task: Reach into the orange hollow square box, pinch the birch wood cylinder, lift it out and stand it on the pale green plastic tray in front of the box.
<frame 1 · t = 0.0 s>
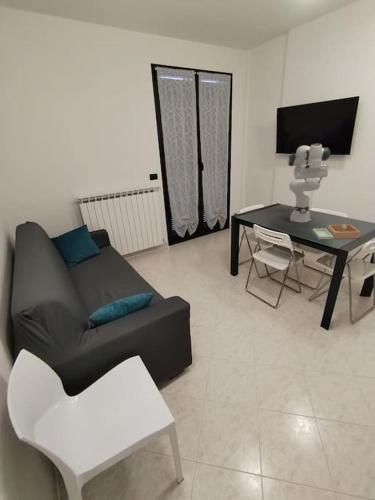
hand: (312, 183, 197), 39 cm above the table, tool pointing down, fingers open, 8 cm apart
green tray: (322, 235, 195), on the table
orange hollow square box: (342, 235, 192), on the table
birch cylinder: (342, 234, 192), point 1 cm above the table, touching orange hollow square box
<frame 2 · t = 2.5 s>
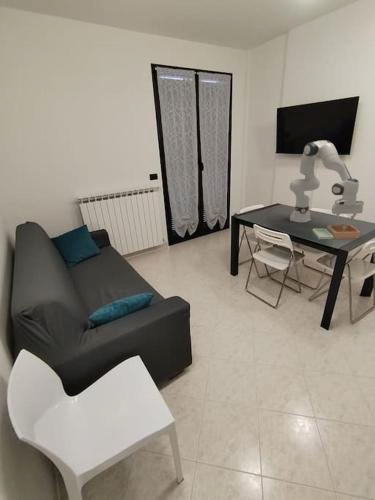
hand: (345, 219, 187), 14 cm above the table, tool pointing down, fingers open, 8 cm apart
nothing on the table moved.
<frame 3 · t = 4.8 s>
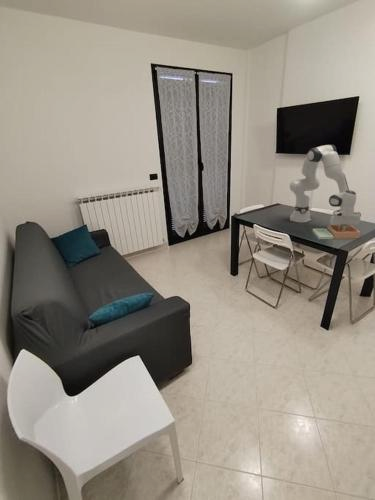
hand: (343, 229, 190), 5 cm above the table, tool pointing down, fingers closed on birch cylinder, 4 cm apart
birch cylinder: (342, 234, 192), point 1 cm above the table, touching gripper, orange hollow square box
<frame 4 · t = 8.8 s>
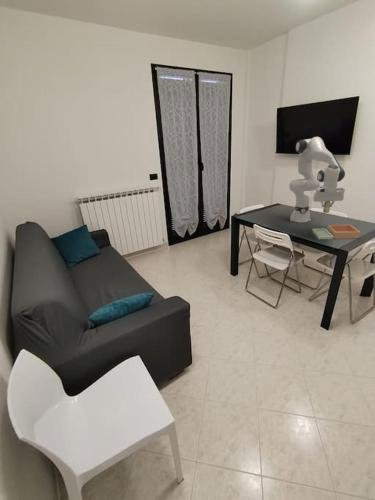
hand: (326, 206, 185), 24 cm above the table, tool pointing down, fingers closed on birch cylinder, 4 cm apart
birch cylinder: (326, 212, 187), point 20 cm above the table, touching gripper
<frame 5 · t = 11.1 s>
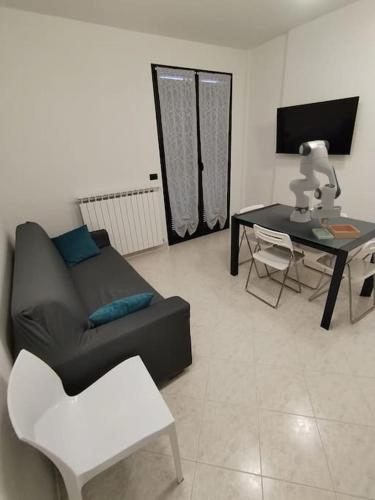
hand: (324, 223, 191), 11 cm above the table, tool pointing down, fingers closed on birch cylinder, 4 cm apart
birch cylinder: (323, 228, 192), point 7 cm above the table, touching gripper
when the fingers open (7 cm above the table, at t = 12.8 s): birch cylinder drops 1 cm, resting on green tray.
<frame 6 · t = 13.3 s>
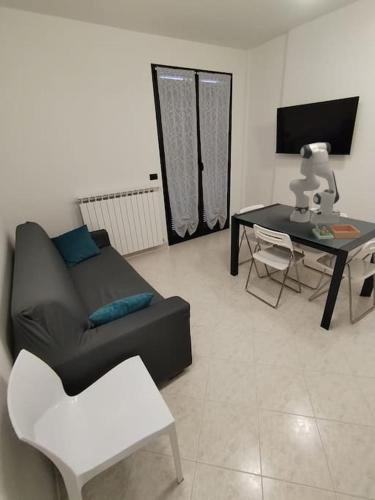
hand: (323, 228, 193), 7 cm above the table, tool pointing down, fingers open, 8 cm apart
birch cylinder: (322, 234, 195), point 1 cm above the table, touching green tray
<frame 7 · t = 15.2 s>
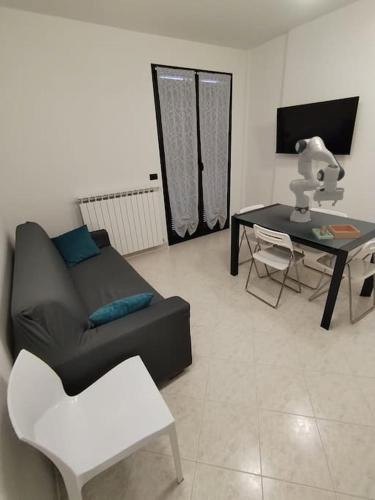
hand: (326, 206, 186), 24 cm above the table, tool pointing down, fingers open, 8 cm apart
nothing on the table moved.
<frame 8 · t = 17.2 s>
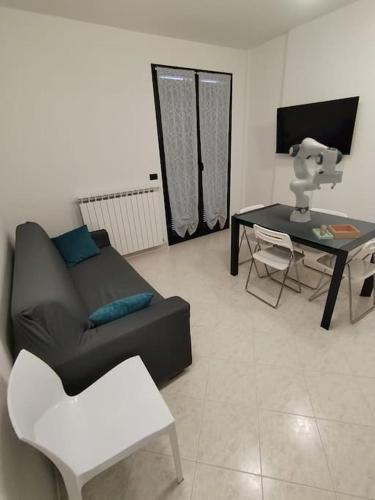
hand: (325, 189, 190), 35 cm above the table, tool pointing down, fingers open, 8 cm apart
nothing on the table moved.
at the end: birch cylinder inside the target area on the green tray (0.0 cm from its centre), point 1.0 cm above the green tray's base; birch cylinder tilted 0°; the gripper is holding nothing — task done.
